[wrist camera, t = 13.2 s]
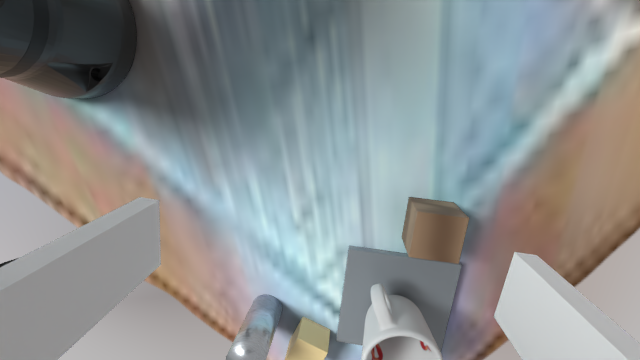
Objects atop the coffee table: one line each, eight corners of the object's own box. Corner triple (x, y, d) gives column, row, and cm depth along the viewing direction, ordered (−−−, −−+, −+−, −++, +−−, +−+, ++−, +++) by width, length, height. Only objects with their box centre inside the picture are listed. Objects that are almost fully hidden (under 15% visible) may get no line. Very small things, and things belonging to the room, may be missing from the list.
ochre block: (290, 338, 43) (284, 361, 39) (302, 316, 41) (297, 338, 38) (317, 351, 43) (313, 376, 39) (330, 329, 42) (327, 352, 38)
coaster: (336, 335, 42) (336, 341, 41) (349, 245, 38) (348, 249, 37) (437, 351, 41) (439, 357, 40) (458, 260, 37) (461, 265, 36)
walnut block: (401, 236, 37) (408, 257, 33) (408, 196, 36) (417, 211, 31) (444, 242, 37) (458, 263, 32) (453, 202, 36) (469, 218, 31)
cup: (341, 276, 38) (338, 321, 30) (405, 256, 37) (419, 298, 29) (373, 348, 40) (377, 407, 33) (434, 332, 39) (455, 389, 31)
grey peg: (251, 318, 42) (225, 375, 34) (253, 292, 41) (226, 343, 33) (281, 323, 42) (262, 381, 33) (283, 297, 41) (264, 350, 32)
